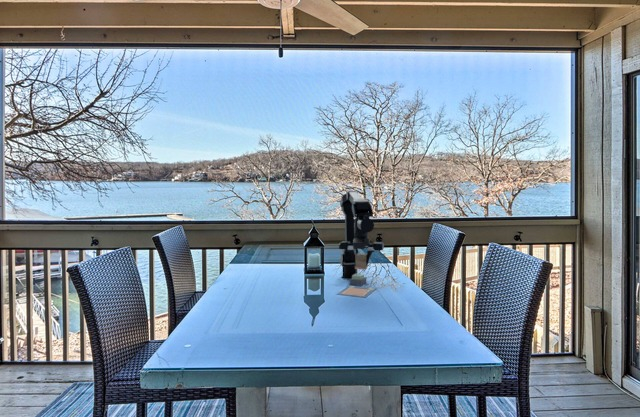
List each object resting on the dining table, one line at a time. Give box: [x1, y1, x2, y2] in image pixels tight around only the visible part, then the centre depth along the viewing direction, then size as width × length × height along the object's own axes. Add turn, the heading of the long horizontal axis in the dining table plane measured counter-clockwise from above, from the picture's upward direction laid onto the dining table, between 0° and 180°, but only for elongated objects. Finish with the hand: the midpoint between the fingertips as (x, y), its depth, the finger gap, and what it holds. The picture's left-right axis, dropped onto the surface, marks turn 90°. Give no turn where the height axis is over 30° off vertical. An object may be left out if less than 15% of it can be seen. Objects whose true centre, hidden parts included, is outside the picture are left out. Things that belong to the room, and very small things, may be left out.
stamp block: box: [355, 252, 368, 270], centre depth 182 cm, size 4×4×6 cm
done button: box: [352, 273, 365, 280], centre depth 195 cm, size 4×4×2 cm
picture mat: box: [336, 285, 377, 299], centre depth 182 cm, size 13×15×1 cm
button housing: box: [349, 276, 367, 287], centre depth 195 cm, size 6×6×2 cm
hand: (361, 265), depth 182 cm, fingers closed on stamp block, 4 cm apart
